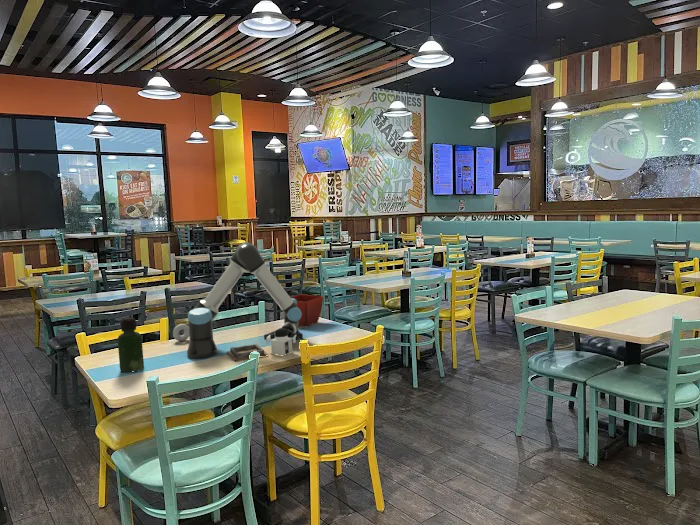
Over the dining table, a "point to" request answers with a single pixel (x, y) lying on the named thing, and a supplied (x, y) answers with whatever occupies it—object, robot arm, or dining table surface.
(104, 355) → the dining table surface
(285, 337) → the container
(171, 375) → the dining table surface
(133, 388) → the dining table surface
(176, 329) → the donut
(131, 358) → the dark green bottle
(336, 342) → the dining table surface
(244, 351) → the plate
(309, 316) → the plant pot
